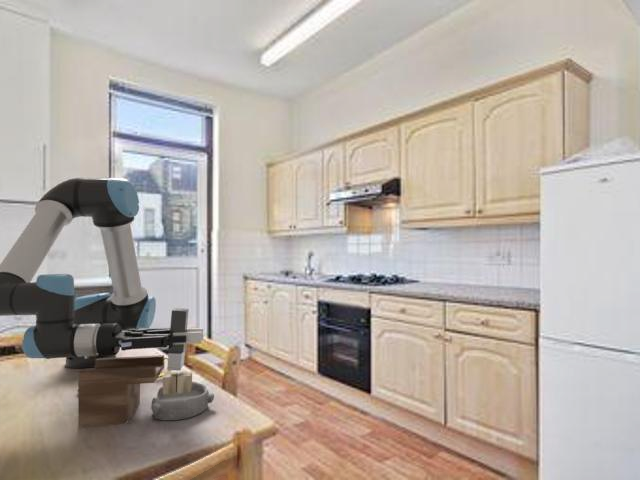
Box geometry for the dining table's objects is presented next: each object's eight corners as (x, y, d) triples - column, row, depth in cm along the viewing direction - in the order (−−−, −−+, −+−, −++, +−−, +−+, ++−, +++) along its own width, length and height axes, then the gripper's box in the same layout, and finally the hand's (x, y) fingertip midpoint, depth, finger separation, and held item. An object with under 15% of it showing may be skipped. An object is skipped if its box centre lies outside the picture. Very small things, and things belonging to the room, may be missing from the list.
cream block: (165, 372, 103) (177, 371, 103) (165, 388, 103) (178, 387, 103) (162, 377, 99) (175, 376, 100) (162, 394, 99) (176, 393, 100)
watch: (168, 373, 131) (169, 354, 131) (172, 375, 129) (173, 356, 129) (149, 376, 126) (151, 357, 127) (153, 378, 124) (155, 358, 125)
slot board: (97, 406, 104) (97, 358, 104) (164, 401, 107) (164, 354, 107) (78, 426, 92) (78, 372, 92) (154, 421, 95) (153, 368, 95)
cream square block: (179, 371, 103) (192, 370, 104) (179, 387, 103) (192, 386, 104) (177, 376, 99) (190, 375, 100) (177, 393, 99) (190, 392, 100)
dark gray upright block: (170, 363, 104) (175, 307, 104) (184, 363, 104) (189, 308, 104) (166, 370, 98) (170, 311, 98) (181, 370, 99) (185, 311, 99)
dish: (153, 427, 92) (152, 405, 92) (147, 406, 104) (147, 386, 104) (218, 414, 99) (218, 393, 99) (205, 395, 111) (205, 377, 111)
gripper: (111, 346, 106) (205, 342, 110) (86, 365, 90) (198, 360, 94) (111, 317, 106) (205, 314, 110) (86, 331, 90) (197, 327, 94)
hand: (201, 335), depth 102 cm, fingers closed on dark gray upright block, 3 cm apart
